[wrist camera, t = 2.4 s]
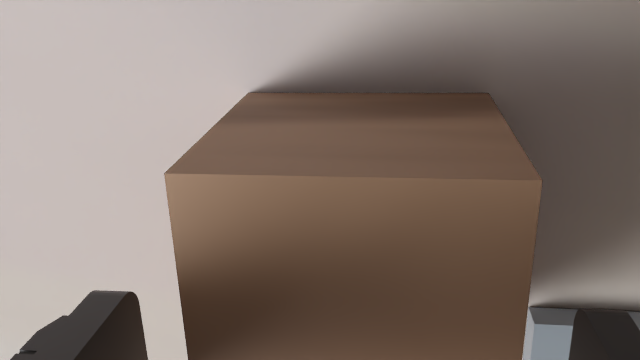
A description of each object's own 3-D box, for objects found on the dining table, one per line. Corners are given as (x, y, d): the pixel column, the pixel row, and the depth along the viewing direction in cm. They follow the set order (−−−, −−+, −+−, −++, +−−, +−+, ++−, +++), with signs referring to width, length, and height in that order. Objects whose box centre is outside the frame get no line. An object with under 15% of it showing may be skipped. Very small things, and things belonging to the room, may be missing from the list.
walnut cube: (249, 91, 15) (164, 173, 10) (487, 92, 15) (542, 180, 9) (263, 293, 18) (200, 452, 12) (472, 302, 17) (508, 477, 11)
